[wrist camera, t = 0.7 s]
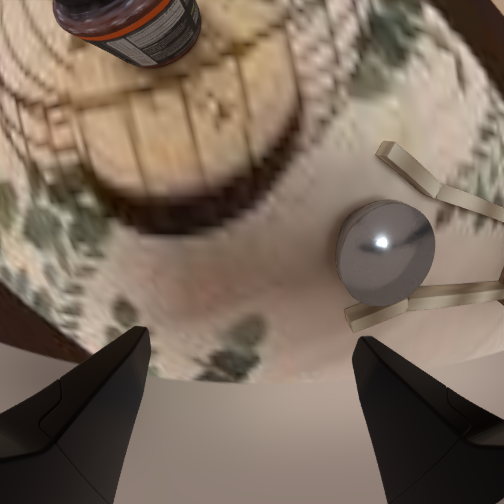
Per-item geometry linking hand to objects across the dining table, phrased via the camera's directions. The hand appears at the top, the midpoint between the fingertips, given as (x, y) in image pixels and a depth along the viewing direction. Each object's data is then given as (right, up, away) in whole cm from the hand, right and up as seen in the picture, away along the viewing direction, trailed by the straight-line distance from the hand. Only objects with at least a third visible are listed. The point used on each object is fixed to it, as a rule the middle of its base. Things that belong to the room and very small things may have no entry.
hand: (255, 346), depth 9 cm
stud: (+9, +4, +12) cm, 15 cm away
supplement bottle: (-6, +17, +6) cm, 20 cm away
